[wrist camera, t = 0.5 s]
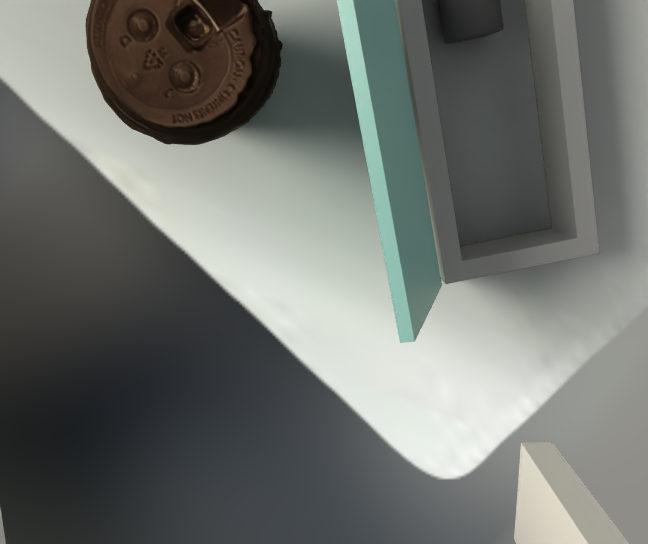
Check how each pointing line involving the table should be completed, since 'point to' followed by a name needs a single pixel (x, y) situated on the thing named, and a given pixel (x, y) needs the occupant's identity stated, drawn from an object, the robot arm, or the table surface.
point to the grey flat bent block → (556, 136)
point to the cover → (392, 158)
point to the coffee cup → (183, 64)
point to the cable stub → (469, 18)
